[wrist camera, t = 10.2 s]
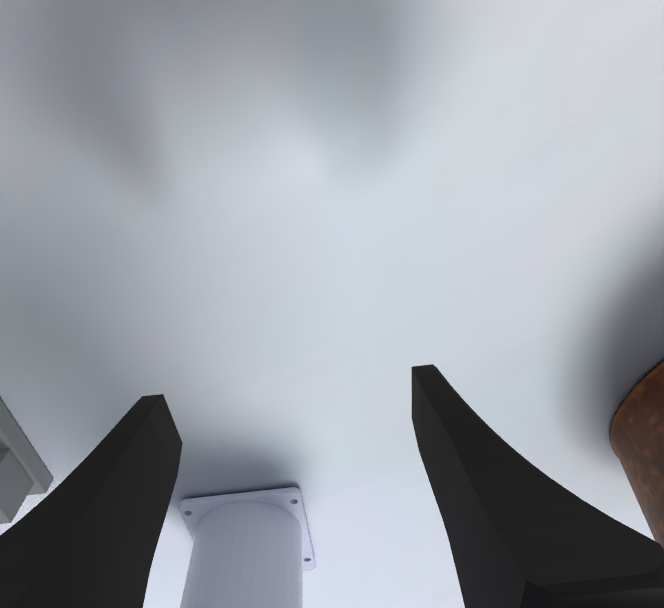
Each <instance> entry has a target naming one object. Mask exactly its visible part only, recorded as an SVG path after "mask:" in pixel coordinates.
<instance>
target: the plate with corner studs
mask: <svg viewBox="0 0 664 608" xmlns="http://www.w3.org/2000/svg"><path fill="white" fill-rule="evenodd" d="M52 481H53V477H52V476H51V474H50V473H49V471H48V470H47V468H46V467H45V465H44V464H43V462H42V461H41V459H40V458H39V456H38V454H37V453H36V451H35V450H34V448H33V447H32V445H31V444H30V442H29V441H28V439H27V438H26V436H25V435H24V433H23V432H22V430H21V429H20V427H19V426H18V424H17V423H16V421H15V420H14V418H13V417H12V415H11V414H10V412H9V410H8V409H7V407H6V406H5V404H4V403H3V401H2V400H1V398H0V524H3V523H11V522H12V520H13V519H14V517H15V515H16V513H17V512H18V510H19V508H20V507H21V505H22V503H23V502H24V500H25V498H26V496H27V495H33V494H42V493H46V492H47V490H48V488H49V486H50V485H51V483H52Z"/></svg>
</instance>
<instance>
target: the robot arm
mask: <svg viewBox="0 0 664 608" xmlns="http://www.w3.org/2000/svg"><path fill="white" fill-rule="evenodd" d="M412 421H413V425H414V430H415V435H416V439H417V443H418V448H419V452H420V455H421V458H422V461H423V464H424V466H425V469H426V472H427V475H428V478H429V481H430V484H431V487H432V490H433V493H434V496H435V498H436V501H437V504H438V507H439V510H440V513H441V516H442V519H443V522H444V525H445V528H446V532H447V535H448V538H449V542H450V546H451V550H452V554H453V559H454V563H455V567H456V571H457V575H458V579H459V583H460V588H461V592H462V596H463V601H464V605H465V608H664V548H663V547H662V546H661V544H659V543H657V542H656V541H654V540H652V539H650V538H648V537H646V536H644V535H643V534H641V533H639V532H637V531H635V530H633V529H631V528H630V527H628V526H626V525H624V524H622V523H620V522H618V521H617V520H615V519H613V518H611V517H610V516H608V515H606V514H605V513H603V512H601V511H600V510H598V509H596V508H595V507H593V506H591V505H590V504H588V503H587V502H585V501H583V500H582V499H580V498H579V497H577V496H576V495H574V494H573V493H571V492H570V491H569V490H567V489H566V488H564V487H563V486H561V485H560V484H558V483H557V482H555V481H554V480H552V479H551V478H550V477H548V476H547V475H546V474H544V473H543V472H542V471H540V470H539V469H538V468H536V467H535V466H534V465H532V464H531V463H530V462H529V461H527V460H526V459H525V458H524V457H523V456H521V455H520V454H519V453H518V452H516V451H515V450H514V449H513V448H512V447H511V446H510V445H508V444H507V443H506V442H505V441H504V440H503V439H502V438H501V437H500V436H499V435H497V434H496V433H495V432H494V431H493V430H492V429H491V428H490V427H489V426H488V425H487V424H486V423H485V422H484V421H483V420H482V419H481V418H480V417H479V416H478V415H477V414H476V413H475V412H474V411H473V410H472V409H471V407H470V406H469V405H468V404H467V403H466V402H465V401H464V400H463V399H462V398H461V397H460V395H459V394H458V393H457V392H456V391H455V390H454V389H453V387H452V386H451V385H450V384H449V383H448V381H447V380H446V379H445V378H444V376H443V375H442V374H441V373H440V371H439V370H438V369H437V367H435V366H434V365H424V366H415V367H412ZM181 449H182V441H181V438H180V436H179V433H178V431H177V428H176V426H175V423H174V421H173V418H172V416H171V413H170V411H169V408H168V406H167V403H166V401H165V398H164V395H163V394H160V395H151V396H142V397H141V398H140V399H139V400H138V401H137V402H136V404H135V405H134V406H133V407H132V408H131V409H130V410H129V411H128V412H127V414H126V415H125V416H124V417H123V418H122V419H121V420H120V421H119V423H118V424H117V425H116V426H115V427H114V428H113V429H112V430H111V432H110V433H109V434H108V435H107V436H106V437H105V438H104V439H103V440H102V441H101V442H100V444H99V445H98V446H97V447H96V448H95V449H94V450H93V451H92V452H91V453H90V454H89V455H88V456H87V457H86V458H85V459H84V460H83V461H82V462H81V463H80V464H79V466H78V467H77V468H76V469H75V470H74V471H73V472H72V473H71V474H70V475H69V476H68V477H67V478H66V479H65V480H64V481H63V482H62V483H61V484H60V485H59V486H58V487H56V488H55V489H54V490H53V491H52V492H51V493H50V494H49V495H48V496H47V497H46V498H45V499H43V500H42V501H41V502H40V503H39V504H38V505H37V506H36V507H34V508H33V509H32V510H31V511H30V512H29V513H28V514H26V515H25V516H24V517H23V518H22V519H20V520H19V521H18V522H17V523H16V524H14V525H13V526H12V527H11V528H9V529H8V530H7V531H5V532H4V533H3V534H2V535H0V608H143V603H144V598H145V593H146V588H147V583H148V578H149V572H150V568H151V564H152V560H153V557H154V553H155V549H156V546H157V543H158V539H159V536H160V533H161V529H162V526H163V523H164V519H165V516H166V513H167V509H168V506H169V503H170V499H171V496H172V492H173V489H174V486H175V482H176V478H177V474H178V468H179V462H180V456H181ZM178 508H179V511H180V513H181V515H182V517H183V519H184V522H185V524H186V526H187V528H188V530H189V533H190V535H191V537H192V539H193V541H194V544H193V549H192V554H191V558H190V563H189V568H188V573H187V577H186V582H185V587H184V592H183V596H182V601H181V606H180V608H302V571H308V570H312V569H314V568H315V566H316V565H315V557H314V553H313V548H312V543H311V538H310V534H309V529H308V524H307V520H306V515H305V510H304V505H303V501H302V496H301V491H300V490H299V489H298V488H295V487H290V488H281V489H272V490H263V491H254V492H245V493H235V494H226V495H217V496H208V497H199V498H190V499H183V500H181V501H180V503H179V507H178Z"/></svg>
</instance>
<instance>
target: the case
mask: <svg viewBox="0 0 664 608" xmlns="http://www.w3.org/2000/svg"><path fill="white" fill-rule="evenodd" d="M610 439H611V445H612V448H613V450H614V452H615V454H616V455H617V457H618V458H619V459H620V462H621V464H622V466H623V468H624V471H625V473H626V475H627V478H628V480H629V482H630V485H631V487H632V489H633V492H634V494H635V496H636V498H637V501H638V503H639V505H640V507H641V510H642V512H643V514H644V516H645V519H646V521H647V523H648V525H649V528H650V530H651V532H652V534H653V537H654V539H655V541H656V542H657V543H659V544H661V546H662V547H663V548H664V361H662V362H661V363H660V364H658V365H657V366H656V367H655V368H654V369H653V370H651V371H650V372H649V373H648V374H647V375H646V376H645V377H644V378H643V379H642V380H641V381H640V382H639V383H638V384H637V385H636V386H635V387H634V389H633V390H632V391H631V392H630V394H629V395H628V396H627V397H626V398H625V400H624V401H623V403H622V404H621V406H620V407H619V409H618V411H617V412H616V414H615V416H614V419H613V422H612V426H611V431H610Z"/></svg>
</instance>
